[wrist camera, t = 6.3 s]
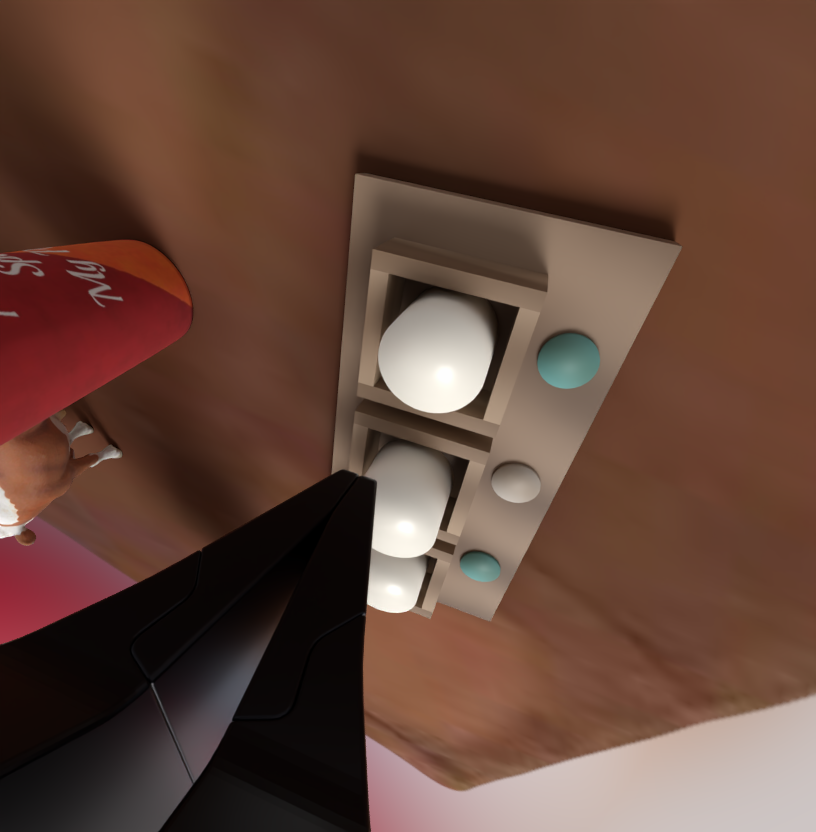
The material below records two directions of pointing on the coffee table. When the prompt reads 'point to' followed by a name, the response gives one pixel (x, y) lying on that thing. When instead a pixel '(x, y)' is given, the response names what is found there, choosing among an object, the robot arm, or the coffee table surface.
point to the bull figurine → (40, 472)
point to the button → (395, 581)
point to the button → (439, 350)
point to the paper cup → (81, 322)
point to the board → (510, 365)
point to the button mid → (409, 497)
